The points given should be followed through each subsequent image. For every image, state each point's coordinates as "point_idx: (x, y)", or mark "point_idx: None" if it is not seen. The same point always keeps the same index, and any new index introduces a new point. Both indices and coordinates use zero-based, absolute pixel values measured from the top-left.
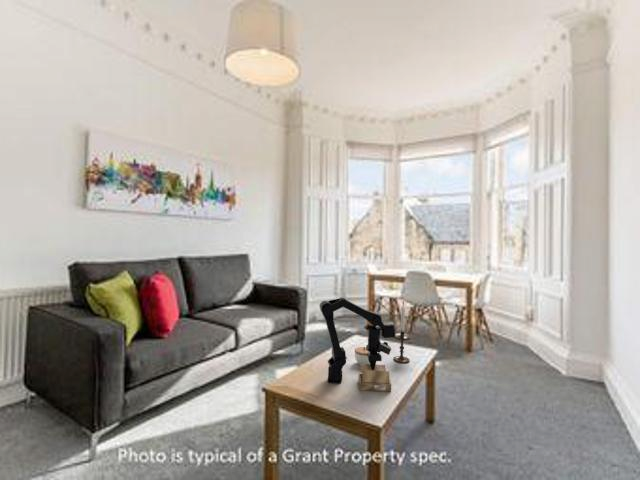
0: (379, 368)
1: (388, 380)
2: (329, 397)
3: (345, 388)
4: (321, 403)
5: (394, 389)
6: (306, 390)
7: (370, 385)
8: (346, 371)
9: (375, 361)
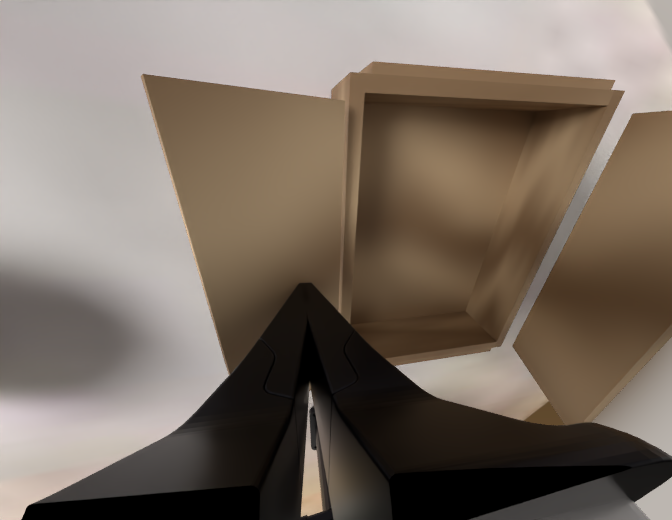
0: (273, 212)
1: (665, 123)
2: (497, 399)
3: (432, 370)
4: (529, 407)
5: (504, 40)
6: None
7: (515, 279)
8: (192, 402)
9: (390, 381)
